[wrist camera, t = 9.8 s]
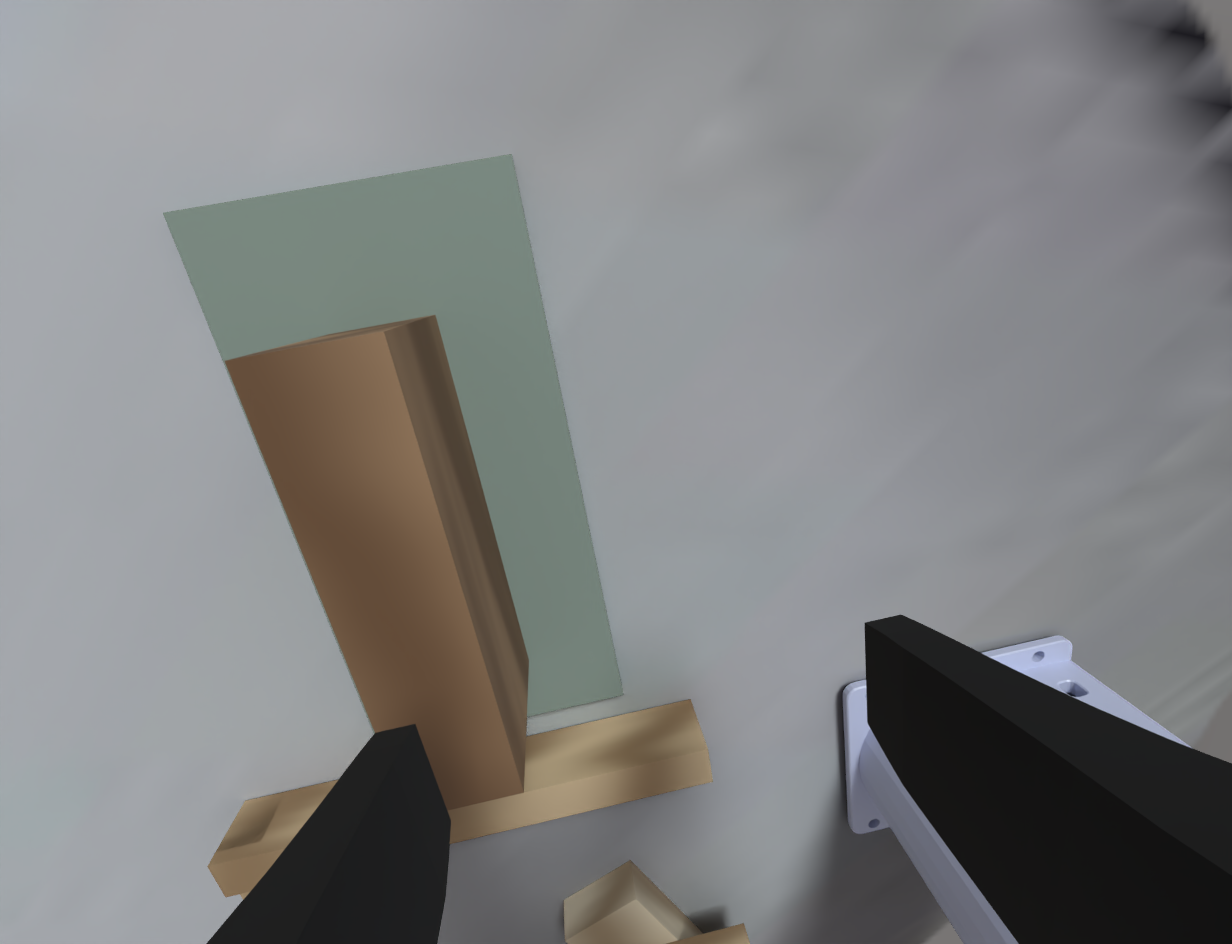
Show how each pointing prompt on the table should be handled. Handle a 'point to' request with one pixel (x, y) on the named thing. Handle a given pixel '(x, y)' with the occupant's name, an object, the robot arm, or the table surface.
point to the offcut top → (719, 937)
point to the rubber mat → (475, 348)
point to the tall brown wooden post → (399, 541)
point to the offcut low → (624, 912)
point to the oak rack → (553, 788)
